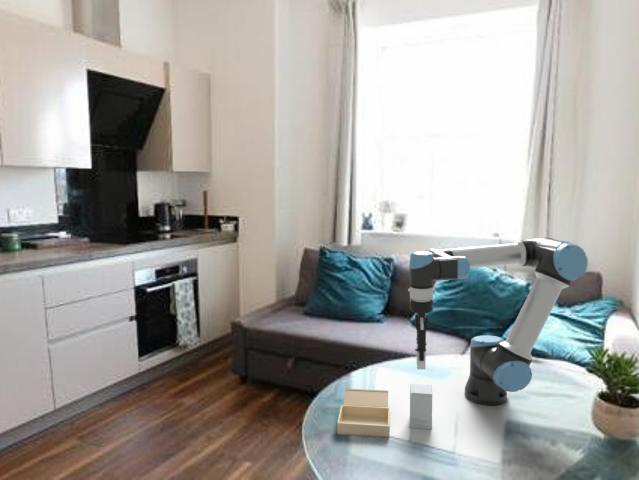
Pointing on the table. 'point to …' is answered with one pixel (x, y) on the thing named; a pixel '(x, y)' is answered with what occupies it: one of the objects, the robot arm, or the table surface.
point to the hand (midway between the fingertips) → (420, 366)
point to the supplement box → (421, 406)
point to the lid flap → (366, 397)
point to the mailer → (364, 421)
